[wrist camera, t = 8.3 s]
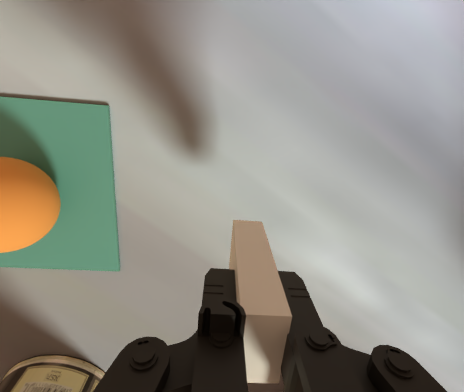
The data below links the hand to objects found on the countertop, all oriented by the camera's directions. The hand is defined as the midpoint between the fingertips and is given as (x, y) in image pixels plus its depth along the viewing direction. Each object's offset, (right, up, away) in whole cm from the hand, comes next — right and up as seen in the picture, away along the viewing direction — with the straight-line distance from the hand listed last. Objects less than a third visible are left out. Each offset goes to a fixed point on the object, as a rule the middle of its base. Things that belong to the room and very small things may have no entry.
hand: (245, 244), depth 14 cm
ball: (-14, +2, +1) cm, 14 cm away
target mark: (-15, +3, +4) cm, 16 cm away
